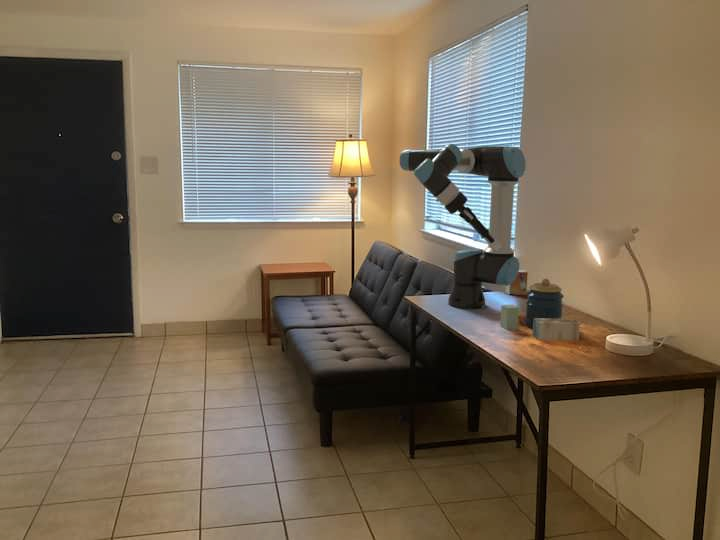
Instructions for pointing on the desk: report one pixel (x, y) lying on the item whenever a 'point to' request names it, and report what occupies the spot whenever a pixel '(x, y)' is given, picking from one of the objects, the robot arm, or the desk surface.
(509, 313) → the sage block
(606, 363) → the desk surface
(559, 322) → the tall white box
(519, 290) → the small box
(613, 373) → the desk surface
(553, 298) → the canister
